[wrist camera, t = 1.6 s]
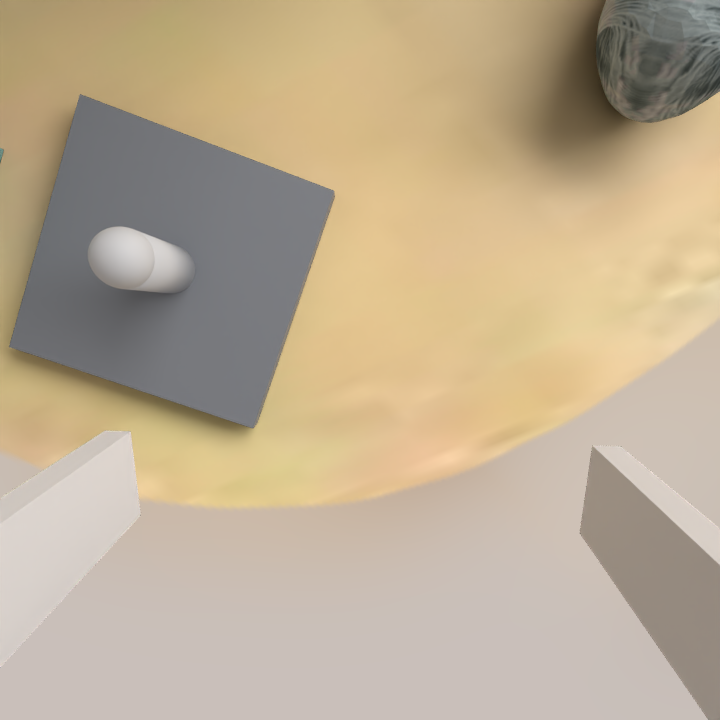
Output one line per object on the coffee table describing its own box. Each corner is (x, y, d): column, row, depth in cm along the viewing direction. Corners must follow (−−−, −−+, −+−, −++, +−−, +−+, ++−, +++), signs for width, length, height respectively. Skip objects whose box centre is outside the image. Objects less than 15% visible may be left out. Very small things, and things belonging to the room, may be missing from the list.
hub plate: (94, 105, 28) (-24, 9, 19) (334, 196, 29) (330, 146, 20) (26, 345, 29) (-113, 360, 20) (257, 422, 31) (222, 469, 22)
